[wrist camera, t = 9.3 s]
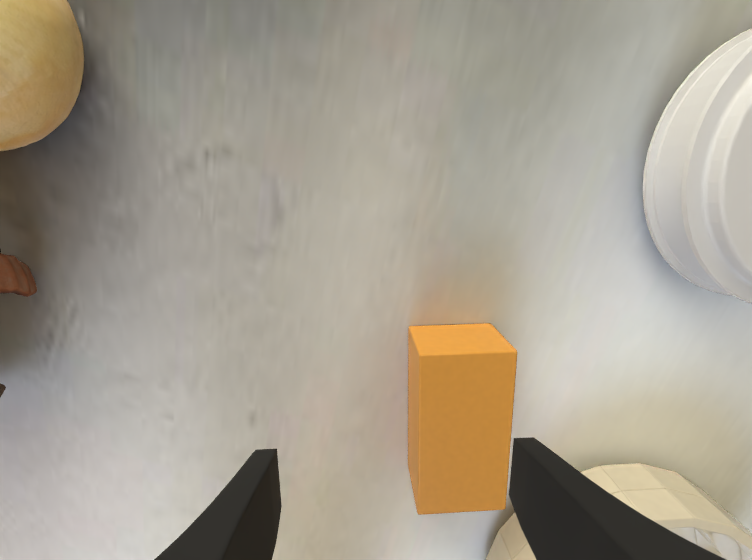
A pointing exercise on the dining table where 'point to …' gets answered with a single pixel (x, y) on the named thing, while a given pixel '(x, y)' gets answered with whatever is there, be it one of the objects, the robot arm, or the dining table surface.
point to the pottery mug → (15, 281)
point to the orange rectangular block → (459, 417)
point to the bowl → (651, 512)
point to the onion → (37, 69)
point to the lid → (706, 174)
